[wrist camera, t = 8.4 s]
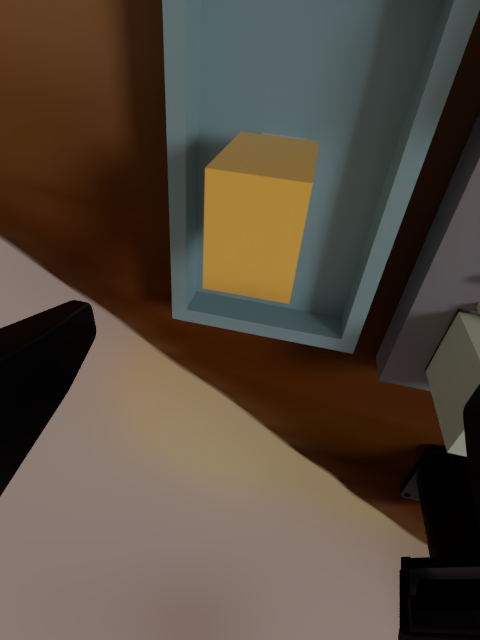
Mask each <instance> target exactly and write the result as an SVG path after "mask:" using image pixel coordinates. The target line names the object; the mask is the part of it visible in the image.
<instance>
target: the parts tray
mask: <svg viewBox="0 0 480 640" xmlns="http://www.w3.org/2000/svg"><path fill="white" fill-rule="evenodd" d="M162 8H163V39H164V70H165V100H166V131H167V162H168V193H169V224H170V255H171V286H172V317H173V319H178V320H184V321H189V322H194V323H199V324H204V325H209V326H214V327H219V328H224V329H229V330H234V331H239V332H245V333H250V334H255V335H260V336H265V337H270V338H275V339H280V340H285V341H290V342H295V343H301V344H306V345H311V346H316V347H321V348H326V349H331V350H336V351H341V352H346V353H351V354H353V352H354V350H355V347H356V344H357V341H358V339H359V336H360V333H361V331H362V328H363V325H364V322H365V320H366V317H367V314H368V312H369V309H370V306H371V303H372V301H373V298H374V295H375V293H376V290H377V287H378V284H379V282H380V279H381V276H382V274H383V271H384V268H385V265H386V263H387V260H388V257H389V255H390V252H391V249H392V246H393V244H394V241H395V238H396V236H397V233H398V230H399V227H400V225H401V222H402V219H403V217H404V214H405V211H406V208H407V206H408V203H409V200H410V198H411V195H412V192H413V189H414V187H415V184H416V181H417V179H418V176H419V173H420V170H421V168H422V165H423V162H424V160H425V157H426V154H427V151H428V149H429V146H430V143H431V141H432V138H433V135H434V133H435V130H436V127H437V124H438V122H439V119H440V116H441V114H442V111H443V108H444V105H445V103H446V100H447V97H448V95H449V92H450V89H451V86H452V84H453V81H454V78H455V76H456V73H457V70H458V67H459V65H460V62H461V59H462V57H463V54H464V51H465V48H466V46H467V43H468V40H469V38H470V35H471V32H472V29H473V27H474V24H475V21H476V19H477V16H478V13H479V10H480V0H162ZM241 131H242V132H249V133H257V134H261V133H268V134H276V135H283V136H291V137H299V138H306V139H307V140H310V141H318V142H319V148H318V154H317V161H316V167H315V173H314V180H313V186H312V191H311V196H310V201H309V206H308V211H307V216H306V221H305V227H304V232H303V237H302V242H301V247H300V252H299V257H298V262H297V268H296V273H295V278H294V283H293V288H292V293H291V298H290V303H289V304H286V303H281V302H275V301H270V300H264V299H259V298H253V297H247V296H242V295H236V294H231V293H225V292H220V291H214V290H209V289H203V243H204V194H205V167H206V166H207V165H208V164H209V163H210V162H211V161H212V160H213V159H214V158H215V157H216V156H217V155H218V154H219V153H220V152H221V151H222V150H223V149H224V148H225V147H226V146H227V145H228V144H229V143H230V142H231V141H232V140H233V139H234V138H235V137H236V136H237V135H238V134H239V133H240V132H241Z"/></svg>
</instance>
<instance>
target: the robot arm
mask: <svg viewBox="0 0 480 640" xmlns="http://www.w3.org/2000/svg"><path fill="white" fill-rule="evenodd" d="M95 336H96V326H95V321H94V315H93V310H92V307H91V305H90V304H89V303H87V302H81V301H76V300H72V301H69V302H67V303H64V304H61V305H59V306H56V307H54V308H51V309H49V310H46V311H44V312H41V313H38V314H36V315H33V316H31V317H28V318H26V319H23V320H21V321H18V322H16V323H13V324H11V325H8V326H6V327H3V328H0V496H1V494H2V493H3V491H4V490H5V488H6V487H7V485H8V484H9V482H10V481H11V479H12V477H13V476H14V474H15V473H16V471H17V470H18V468H19V466H20V465H21V464H22V462H23V460H24V459H25V457H26V456H27V454H28V453H29V451H30V450H31V448H32V447H33V445H34V443H35V442H36V440H37V439H38V437H39V436H40V434H41V433H42V431H43V429H44V428H45V426H46V425H47V423H48V422H49V420H50V419H51V417H52V415H53V414H54V412H55V411H56V409H57V408H58V406H59V405H60V403H61V402H62V400H63V399H64V397H65V395H66V394H67V392H68V391H69V389H70V387H71V385H72V383H73V381H74V379H75V377H76V375H77V373H78V371H79V369H80V367H81V365H82V363H83V361H84V359H85V357H86V355H87V353H88V351H89V349H90V347H91V345H92V343H93V341H94V339H95ZM463 423H464V433H465V444H466V454H467V457H465V456H461V455H456V454H452V453H447V450H446V449H445V448H441V447H435V446H434V447H430V448H428V449H427V450H426V452H425V453H424V455H423V456H422V458H421V459H420V461H419V462H418V463H417V465H416V466H415V468H414V469H413V471H412V472H411V474H410V475H409V477H408V478H407V480H406V481H405V483H404V484H403V486H402V487H401V488H400V494H401V496H402V497H403V498H407V499H411V500H415V501H419V502H420V505H421V510H422V516H423V521H424V527H425V533H426V538H427V544H428V549H429V555H430V557H427V558H410V557H401V570H400V628H399V635H398V640H480V384H479V385H478V386H477V388H476V389H475V391H474V392H473V394H472V395H471V397H470V398H469V400H468V401H467V403H466V404H465V406H464V409H463Z"/></svg>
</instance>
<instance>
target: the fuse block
mask: <svg viewBox="0 0 480 640" xmlns="http://www.w3.org/2000/svg"><path fill="white" fill-rule="evenodd" d="M458 308H462V309H467V310H473V311H478V312H479V314H480V112H479V114H478V117H477V119H476V121H475V124H474V126H473V128H472V131H471V133H470V135H469V138H468V140H467V143H466V145H465V147H464V150H463V152H462V154H461V157H460V159H459V162H458V164H457V166H456V169H455V171H454V173H453V176H452V178H451V180H450V183H449V185H448V188H447V190H446V192H445V195H444V197H443V199H442V202H441V204H440V206H439V209H438V211H437V214H436V216H435V218H434V221H433V223H432V225H431V228H430V230H429V232H428V235H427V237H426V240H425V242H424V244H423V247H422V249H421V251H420V254H419V256H418V258H417V261H416V263H415V266H414V268H413V270H412V273H411V275H410V277H409V280H408V282H407V284H406V287H405V289H404V292H403V294H402V296H401V299H400V301H399V303H398V306H397V308H396V310H395V313H394V315H393V318H392V320H391V322H390V325H389V327H388V329H387V332H386V334H385V336H384V339H383V341H382V344H381V346H380V348H379V351H378V353H377V355H376V363H377V371H378V379H379V381H383V382H388V383H393V384H398V385H403V386H408V387H413V388H418V389H423V390H428V391H431V390H430V386H429V382H428V378H427V375H426V370H427V368H428V366H429V365H430V363H431V361H432V359H433V357H434V352H435V350H436V348H437V346H438V345H439V343H440V341H441V339H442V337H443V336H444V334H445V332H446V330H447V328H448V326H449V325H450V323H451V321H452V319H453V317H454V316H455V314H456V312H457V310H458Z"/></svg>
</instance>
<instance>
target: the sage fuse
mask: <svg viewBox="0 0 480 640" xmlns="http://www.w3.org/2000/svg"><path fill="white" fill-rule="evenodd" d="M426 375H427V378H428V382H429V386H430V390H431V393H432V397H433V401H434V405H435V409H436V412H437V416H438V420H439V424H440V428H441V431H442V435H443V439H444V443H445V446H446V450H447V453H452V454H456V455H461V456H465V457H467V454H466V444H465V433H464V423H463V409H464V406H465V404H466V403H467V401H468V400H469V398H470V397H471V395H472V394H473V392H474V391H475V389H476V388H477V386H478V385H479V384H480V314H479V312H478V311H473V310H467V309H462V308H458V310H457V312H456V314H455V316H454V317H453V319H452V321H451V323H450V325H449V326H448V328H447V330H446V332H445V334H444V336H443V337H442V339H441V341H440V343H439V345H438V346H437V348H436V350H435V352H434V357H433V359H432V361H431V363H430V365H429V366H428V368H427V370H426Z"/></svg>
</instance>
